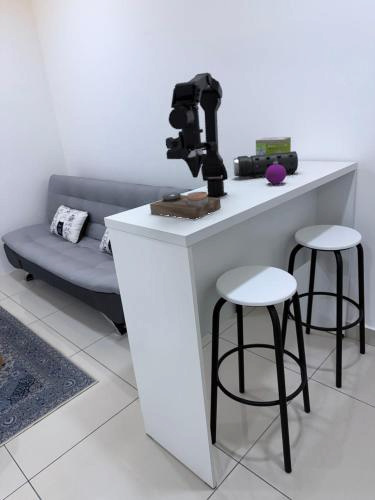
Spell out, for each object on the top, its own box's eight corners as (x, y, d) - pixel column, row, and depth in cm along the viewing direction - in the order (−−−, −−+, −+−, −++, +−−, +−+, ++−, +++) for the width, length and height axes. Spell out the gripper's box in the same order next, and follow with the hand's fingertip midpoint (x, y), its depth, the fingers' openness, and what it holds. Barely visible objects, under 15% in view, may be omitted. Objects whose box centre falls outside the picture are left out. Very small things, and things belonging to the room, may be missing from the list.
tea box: (255, 169, 185) (254, 139, 179) (264, 165, 192) (263, 137, 187) (283, 169, 176) (283, 138, 171) (291, 165, 183) (291, 136, 178)
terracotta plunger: (197, 205, 123) (195, 191, 121) (212, 207, 119) (210, 192, 117) (185, 210, 118) (183, 195, 116) (200, 212, 114) (198, 197, 112)
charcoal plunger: (172, 205, 131) (170, 191, 129) (185, 207, 127) (183, 193, 125) (160, 210, 126) (158, 196, 124) (173, 212, 122) (171, 197, 120)
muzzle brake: (298, 175, 160) (298, 151, 156) (236, 181, 162) (234, 158, 158) (292, 171, 169) (292, 149, 165) (233, 177, 171) (232, 155, 167)
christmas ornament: (261, 185, 148) (261, 161, 144) (273, 181, 153) (273, 157, 149) (278, 186, 142) (278, 161, 139) (290, 182, 147) (290, 158, 143)
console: (177, 203, 134) (176, 194, 133) (220, 208, 121) (220, 198, 120) (151, 213, 124) (149, 203, 123) (194, 220, 112) (193, 209, 110)
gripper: (190, 125, 121) (194, 171, 126) (150, 131, 108) (157, 182, 114) (216, 123, 113) (220, 172, 119) (177, 129, 101) (183, 184, 107)
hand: (195, 177), depth 115 cm, fingers closed
